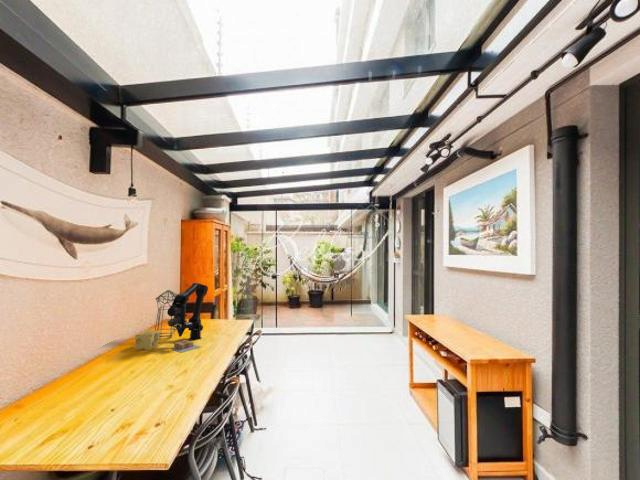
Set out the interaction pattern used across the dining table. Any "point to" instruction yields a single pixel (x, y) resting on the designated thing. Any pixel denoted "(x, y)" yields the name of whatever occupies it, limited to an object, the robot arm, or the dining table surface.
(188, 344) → the walnut slab
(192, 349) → the grey mat
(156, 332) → the cheese
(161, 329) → the geometric lantern
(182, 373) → the dining table surface
